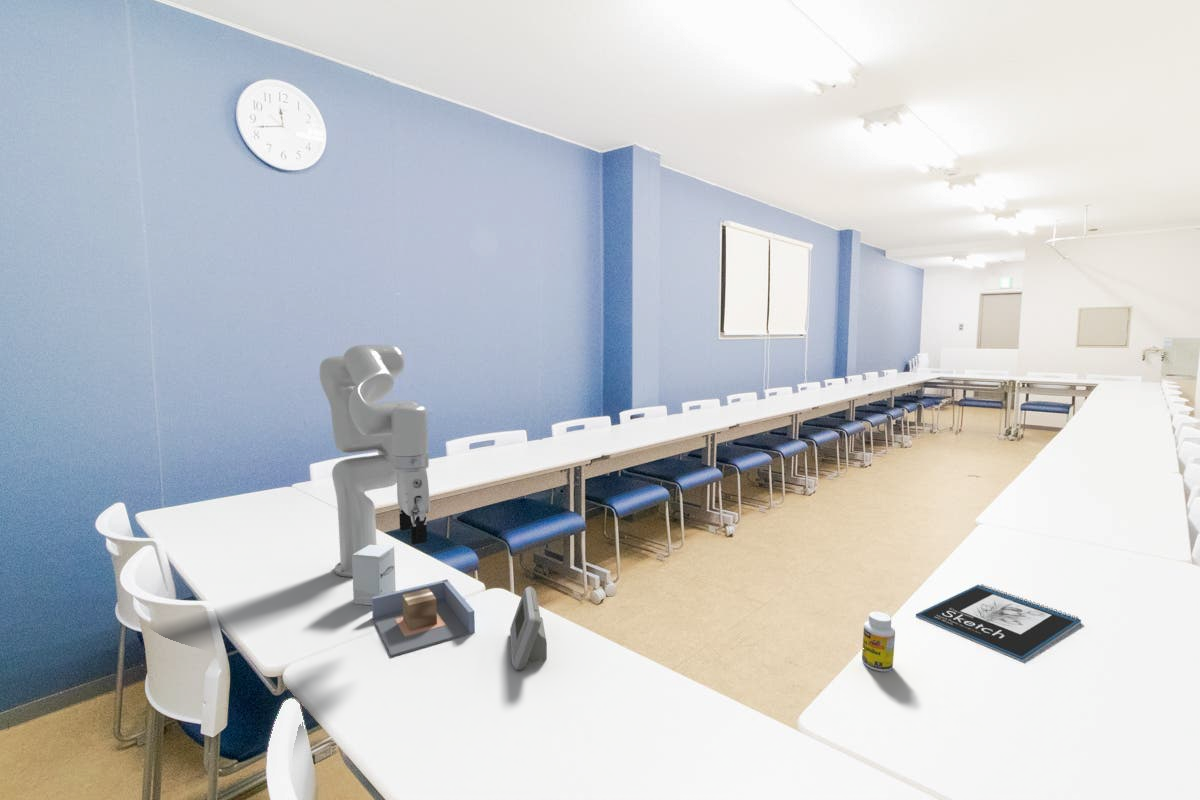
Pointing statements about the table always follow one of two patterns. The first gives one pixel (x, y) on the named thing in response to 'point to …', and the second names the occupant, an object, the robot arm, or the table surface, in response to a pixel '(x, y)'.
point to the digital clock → (527, 632)
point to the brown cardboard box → (419, 609)
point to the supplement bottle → (878, 642)
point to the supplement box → (373, 573)
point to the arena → (451, 624)
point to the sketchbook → (1000, 621)
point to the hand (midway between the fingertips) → (413, 535)
